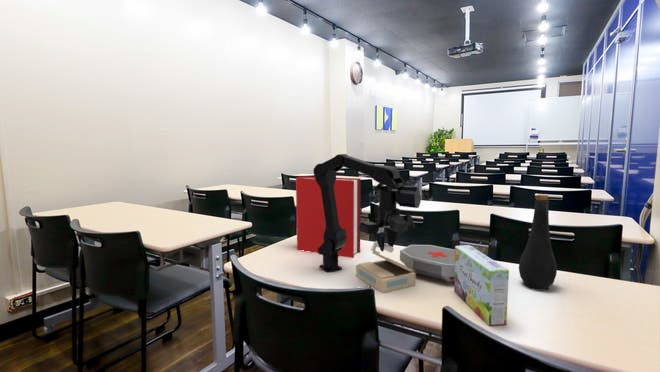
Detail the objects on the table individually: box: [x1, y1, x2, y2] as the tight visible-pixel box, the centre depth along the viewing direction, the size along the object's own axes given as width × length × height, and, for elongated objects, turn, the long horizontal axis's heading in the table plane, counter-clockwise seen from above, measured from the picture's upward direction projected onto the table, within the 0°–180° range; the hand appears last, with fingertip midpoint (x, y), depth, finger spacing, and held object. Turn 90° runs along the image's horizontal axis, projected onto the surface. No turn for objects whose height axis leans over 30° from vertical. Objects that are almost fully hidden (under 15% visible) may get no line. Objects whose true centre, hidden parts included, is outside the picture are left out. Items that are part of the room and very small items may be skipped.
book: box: [295, 175, 362, 259], centre depth 149 cm, size 27×8×32 cm, turn 66°
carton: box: [355, 259, 416, 294], centre depth 118 cm, size 16×13×5 cm
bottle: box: [518, 193, 558, 291], centre depth 111 cm, size 11×11×30 cm
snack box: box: [453, 244, 510, 327], centre depth 98 cm, size 21×6×15 cm, turn 4°
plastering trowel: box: [370, 240, 414, 273], centre depth 119 cm, size 14×11×5 cm
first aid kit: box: [399, 244, 455, 283], centre depth 124 cm, size 18×8×25 cm
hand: (386, 250), depth 116 cm, fingers open, 3 cm apart
